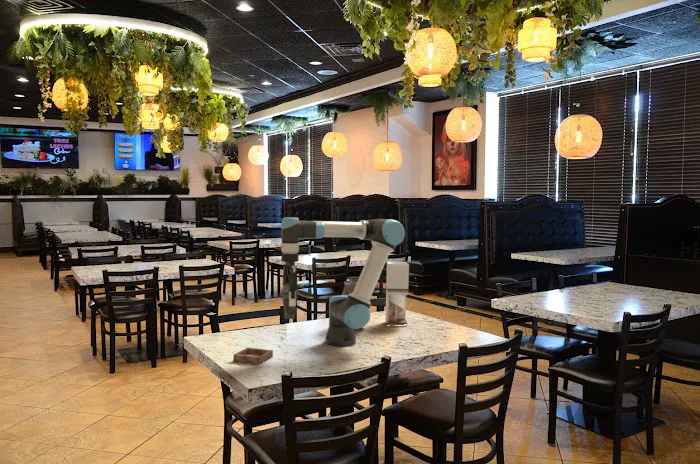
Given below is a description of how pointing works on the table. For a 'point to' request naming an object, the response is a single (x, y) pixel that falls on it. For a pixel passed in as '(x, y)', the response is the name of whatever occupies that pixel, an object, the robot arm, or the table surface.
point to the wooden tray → (253, 356)
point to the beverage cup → (288, 310)
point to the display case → (396, 292)
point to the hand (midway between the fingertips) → (289, 304)
